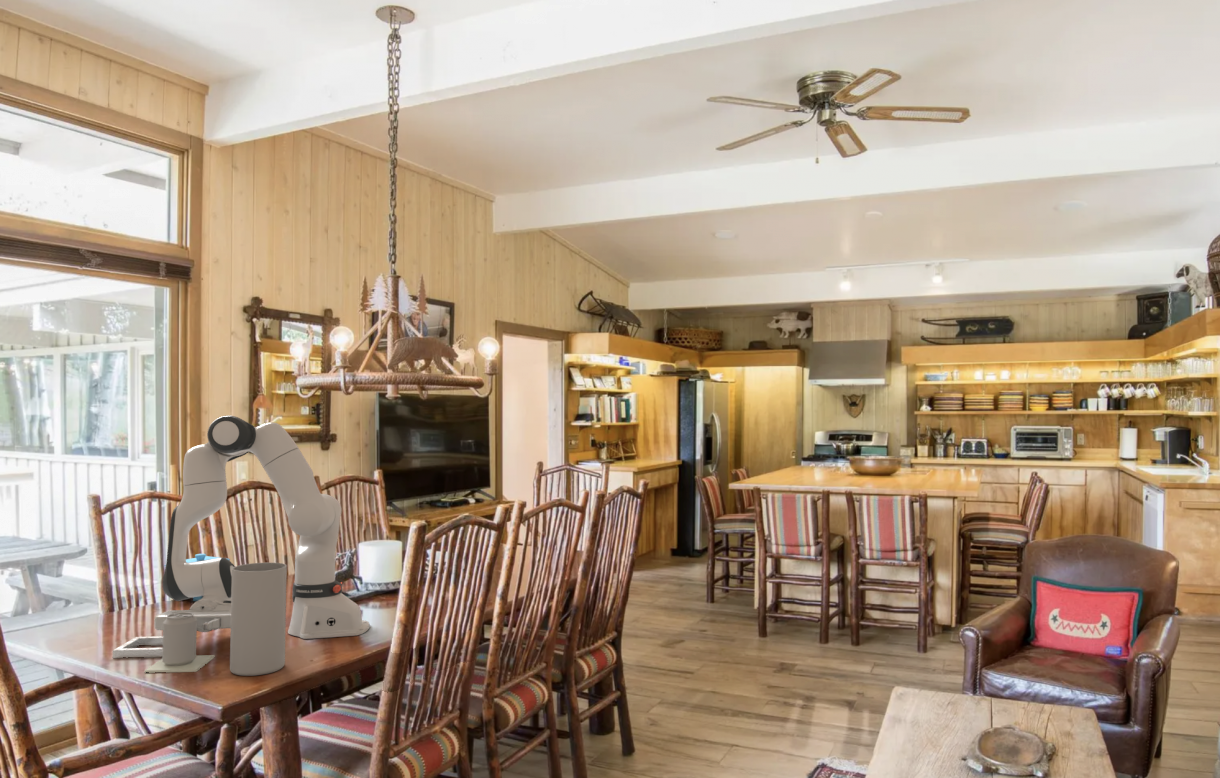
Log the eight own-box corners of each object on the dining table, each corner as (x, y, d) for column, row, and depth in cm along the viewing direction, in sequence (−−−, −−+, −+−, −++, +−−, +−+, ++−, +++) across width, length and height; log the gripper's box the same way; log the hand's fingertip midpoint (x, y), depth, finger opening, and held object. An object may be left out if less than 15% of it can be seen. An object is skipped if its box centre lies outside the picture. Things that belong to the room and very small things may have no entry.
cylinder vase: (281, 659, 214) (283, 561, 215) (287, 672, 203) (289, 569, 204) (228, 665, 208) (230, 564, 209) (231, 679, 197) (233, 573, 198)
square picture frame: (185, 643, 228) (186, 635, 228) (165, 656, 215) (166, 649, 215) (135, 644, 226) (135, 636, 226) (112, 658, 213) (112, 650, 214)
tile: (214, 657, 215) (214, 655, 215) (196, 671, 203) (196, 669, 203) (165, 658, 213) (165, 656, 213) (144, 673, 202) (144, 670, 202)
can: (181, 668, 204) (182, 618, 204) (155, 665, 205) (156, 616, 206) (202, 659, 211) (203, 611, 211) (177, 657, 213) (178, 609, 213)
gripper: (166, 603, 224) (143, 615, 210) (245, 601, 226) (228, 613, 213) (166, 627, 224) (143, 640, 210) (245, 625, 226) (228, 638, 213)
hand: (186, 627), depth 211 cm, fingers open, 8 cm apart
